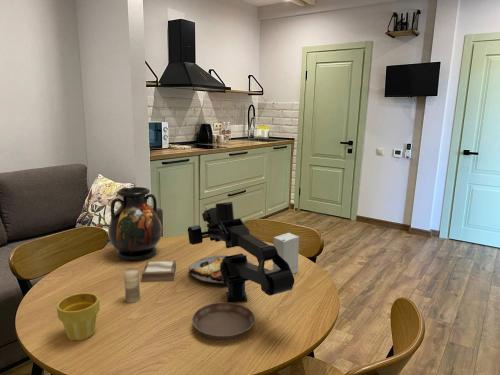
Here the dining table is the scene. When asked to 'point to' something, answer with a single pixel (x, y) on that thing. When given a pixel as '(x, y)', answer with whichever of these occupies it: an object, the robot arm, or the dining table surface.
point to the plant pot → (79, 314)
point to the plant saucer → (223, 321)
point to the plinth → (159, 271)
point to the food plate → (208, 269)
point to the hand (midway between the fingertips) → (204, 229)
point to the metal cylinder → (132, 285)
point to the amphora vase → (134, 225)
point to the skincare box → (287, 250)
